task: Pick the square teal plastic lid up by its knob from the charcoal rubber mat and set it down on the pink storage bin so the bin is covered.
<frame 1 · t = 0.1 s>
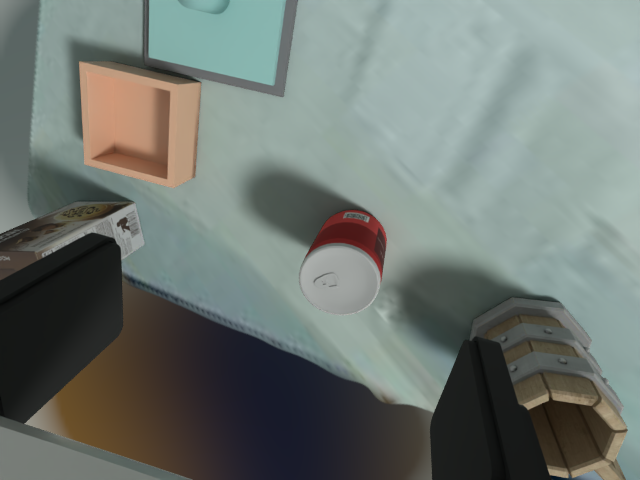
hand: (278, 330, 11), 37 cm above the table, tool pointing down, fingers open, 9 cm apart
pink storage bin: (154, 121, 49), on the table
canned food: (353, 237, 50), on the table
coffee box: (112, 222, 56), on the table
tankard: (541, 362, 51), on the table
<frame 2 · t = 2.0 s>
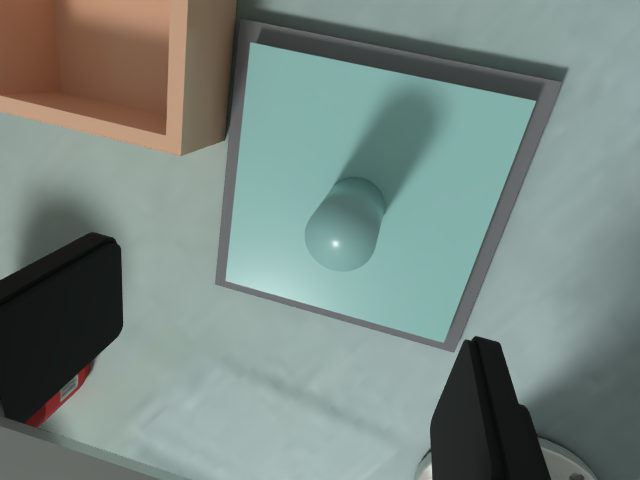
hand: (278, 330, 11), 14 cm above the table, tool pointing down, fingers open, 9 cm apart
lid: (357, 201, 24), point 1 cm above the table, touching mat
pink storage bin: (140, 19, 23), on the table
canned food: (54, 347, 35), on the table
mat: (358, 198, 24), on the table
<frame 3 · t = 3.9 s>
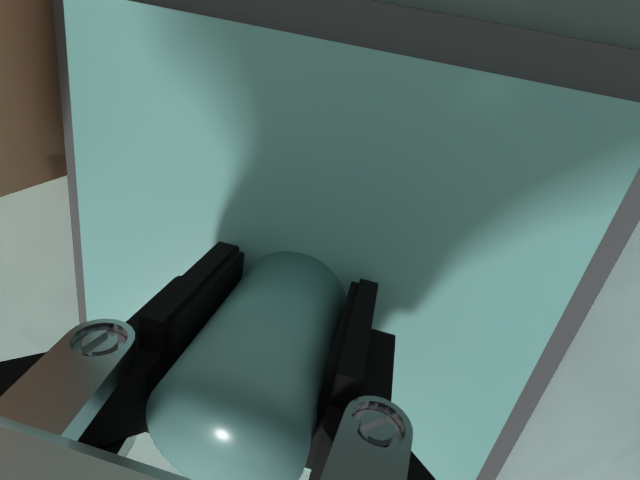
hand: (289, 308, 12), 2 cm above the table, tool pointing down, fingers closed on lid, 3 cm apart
lid: (300, 287, 13), point 1 cm above the table, touching gripper, mat
mat: (304, 278, 14), on the table
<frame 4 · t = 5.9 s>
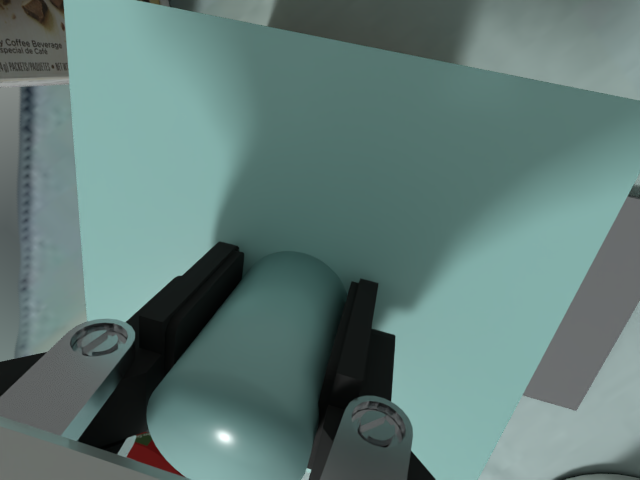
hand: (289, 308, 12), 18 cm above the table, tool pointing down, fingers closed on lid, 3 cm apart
lid: (301, 287, 13), point 17 cm above the table, touching gripper
canned food: (201, 394, 40), on the table
coffee box: (131, 10, 28), on the table
mat: (502, 286, 29), on the table
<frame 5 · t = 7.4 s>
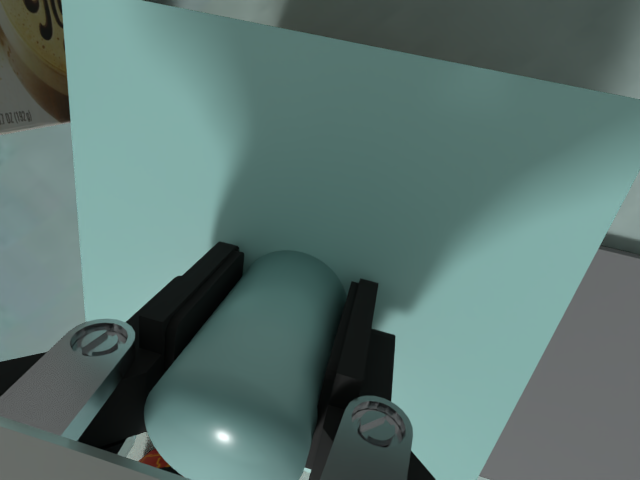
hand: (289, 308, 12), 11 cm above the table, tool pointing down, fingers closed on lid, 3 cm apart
lid: (299, 286, 13), point 9 cm above the table, touching gripper
canned food: (185, 478, 33), on the table
coffee box: (85, 21, 21), on the table
mat: (570, 384, 23), on the table
when the fingers open (7 cm above the table, at t = 8.2 s): lid drops 1 cm, resting on pink storage bin.
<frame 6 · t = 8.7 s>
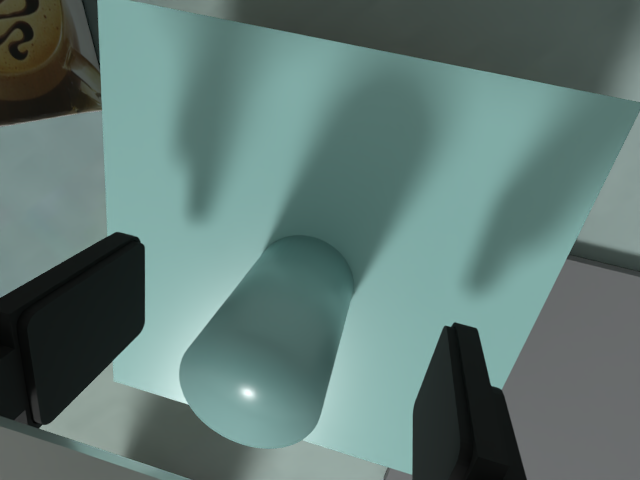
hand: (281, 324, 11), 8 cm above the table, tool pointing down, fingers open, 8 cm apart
lid: (309, 269, 14), point 5 cm above the table, touching pink storage bin
coffee box: (26, 7, 18), on the table
mat: (587, 421, 20), on the table
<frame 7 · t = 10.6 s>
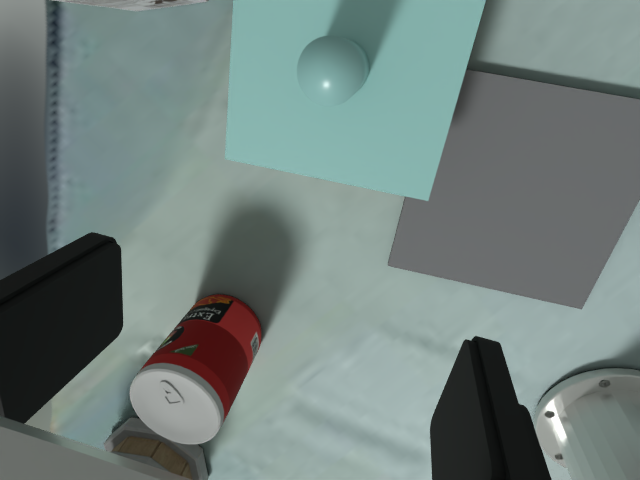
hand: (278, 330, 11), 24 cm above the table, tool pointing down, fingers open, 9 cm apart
lid: (344, 67, 25), point 5 cm above the table, touching pink storage bin
canned food: (228, 324, 42), on the table
mat: (515, 195, 32), on the table
tankard: (146, 464, 55), on the table
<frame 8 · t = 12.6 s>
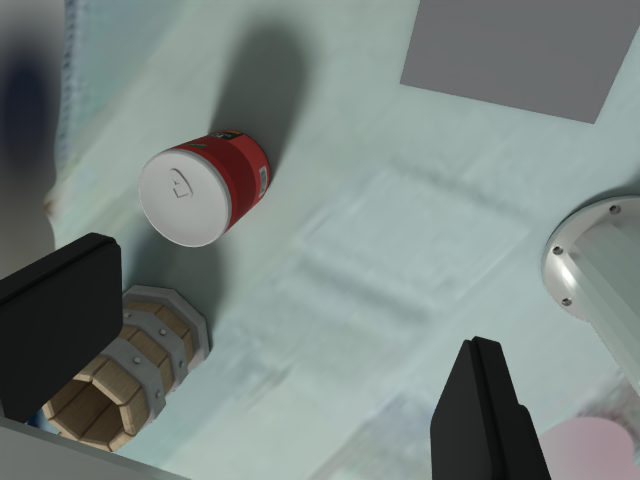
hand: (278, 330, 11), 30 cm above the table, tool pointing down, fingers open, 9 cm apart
canned food: (237, 168, 42), on the table
tankard: (148, 342, 55), on the table
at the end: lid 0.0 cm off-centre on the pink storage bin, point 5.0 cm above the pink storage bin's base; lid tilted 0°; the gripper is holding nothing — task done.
